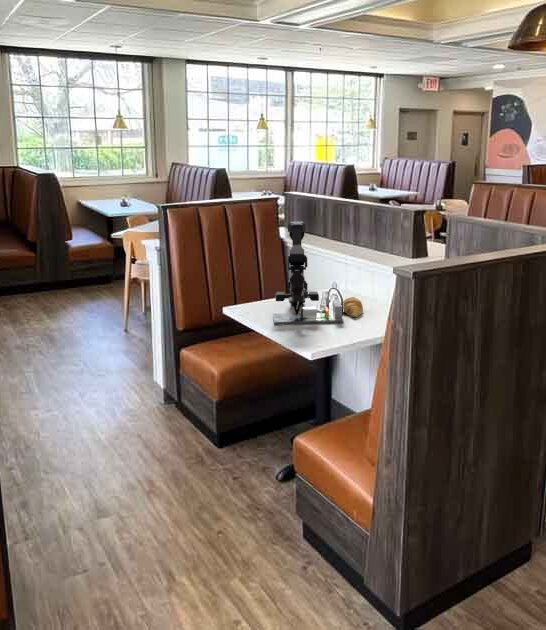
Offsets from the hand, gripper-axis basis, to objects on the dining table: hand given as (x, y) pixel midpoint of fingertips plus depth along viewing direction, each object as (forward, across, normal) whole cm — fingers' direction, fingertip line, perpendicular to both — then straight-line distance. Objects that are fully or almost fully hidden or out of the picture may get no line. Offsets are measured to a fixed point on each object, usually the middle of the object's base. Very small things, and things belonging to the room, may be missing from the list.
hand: (296, 315), depth 277 cm
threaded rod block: (0, +7, 0) cm, 7 cm away
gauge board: (+2, +5, 0) cm, 5 cm away
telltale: (0, +13, 0) cm, 13 cm away
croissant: (+2, +25, +10) cm, 27 cm away
